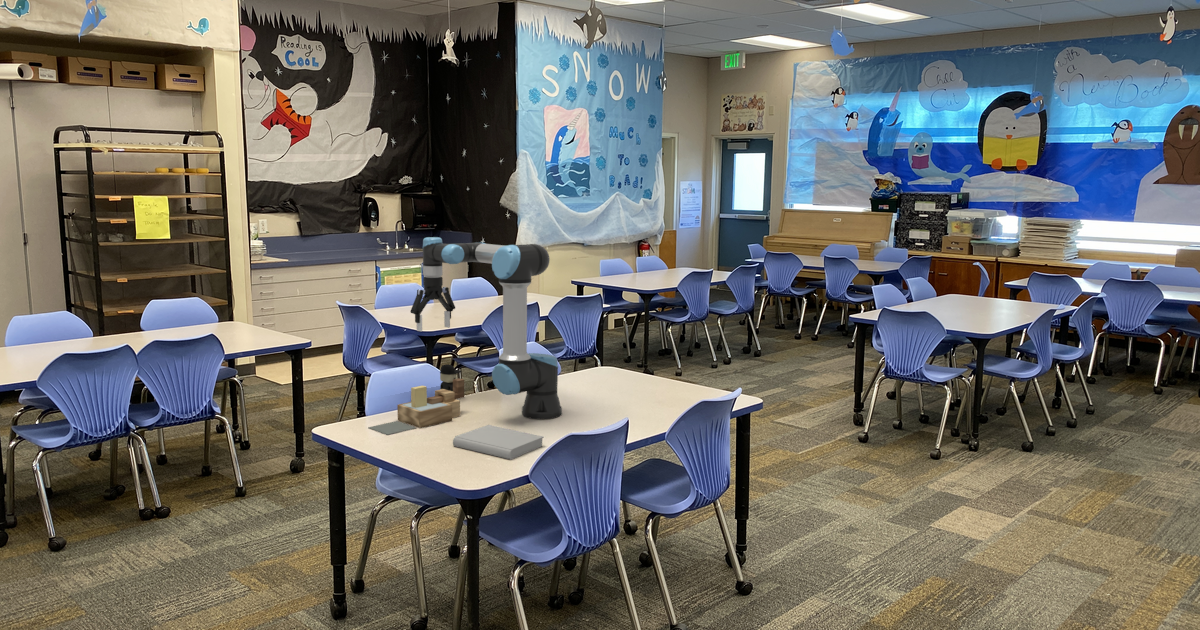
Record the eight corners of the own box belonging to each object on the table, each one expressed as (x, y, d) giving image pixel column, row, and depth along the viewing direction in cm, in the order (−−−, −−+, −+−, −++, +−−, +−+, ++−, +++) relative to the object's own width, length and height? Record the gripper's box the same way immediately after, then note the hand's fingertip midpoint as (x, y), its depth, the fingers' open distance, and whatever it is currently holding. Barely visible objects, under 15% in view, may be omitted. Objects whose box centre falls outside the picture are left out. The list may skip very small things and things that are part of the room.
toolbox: (465, 417, 319) (465, 392, 317) (420, 428, 304) (420, 402, 303) (442, 410, 328) (441, 386, 327) (397, 420, 313) (397, 395, 312)
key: (464, 397, 324) (464, 379, 323) (431, 404, 313) (431, 385, 312) (459, 395, 326) (459, 378, 325) (426, 402, 315) (426, 384, 314)
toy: (465, 400, 344) (465, 363, 342) (449, 404, 338) (448, 366, 336) (452, 397, 349) (452, 360, 347) (436, 400, 343) (436, 364, 340)
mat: (416, 428, 304) (416, 427, 304) (387, 435, 295) (387, 434, 295) (396, 421, 312) (396, 420, 312) (368, 428, 303) (368, 427, 303)
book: (488, 424, 299) (544, 436, 286) (488, 435, 299) (543, 447, 286) (452, 436, 284) (509, 450, 271) (452, 448, 284) (509, 461, 271)
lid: (447, 407, 313) (447, 386, 312) (421, 413, 305) (420, 391, 304) (428, 401, 321) (428, 380, 320) (401, 407, 313) (401, 385, 312)
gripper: (452, 273, 353) (452, 324, 356) (400, 277, 335) (401, 331, 338) (463, 275, 348) (464, 326, 351) (412, 279, 330) (413, 333, 333)
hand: (433, 329), depth 344 cm, fingers open, 13 cm apart
